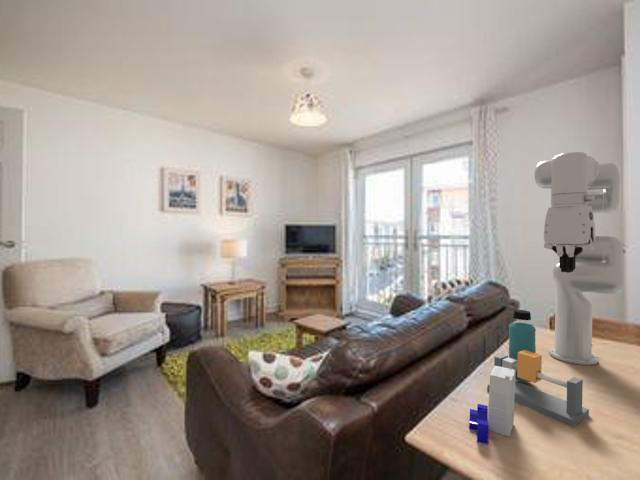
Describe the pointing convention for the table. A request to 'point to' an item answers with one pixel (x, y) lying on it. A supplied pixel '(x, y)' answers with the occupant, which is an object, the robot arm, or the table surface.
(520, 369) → the orange rectangular block
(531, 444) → the table surface
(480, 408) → the cable holder
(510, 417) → the skincare box
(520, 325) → the beverage bottle
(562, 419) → the rail
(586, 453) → the table surface
